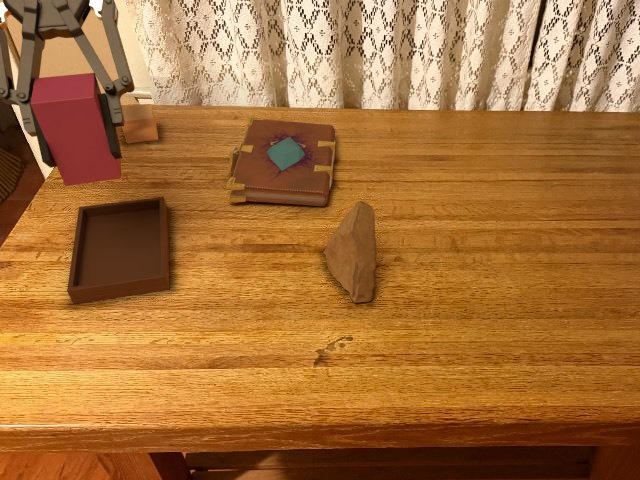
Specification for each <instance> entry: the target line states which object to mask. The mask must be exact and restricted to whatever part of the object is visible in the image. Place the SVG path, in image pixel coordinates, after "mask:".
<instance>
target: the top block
mask: <svg viewBox="0 0 640 480" xmlns="http://www.w3.org/2000/svg"><path fill="white" fill-rule="evenodd" d="M98 94H102V92H101V88H100V85H99V81H98V78H97V77H96V75H95V73H94V72H87V73H76V74H65V75H55V76H44V77H39V78H35V81H34V86H33V92H32V98H31V106H32V109H33V111H34V113H35V116H36V118H37V120H38V123H39V125H40V128H41V130H42V132H43V135H44V137H45V139H46V142H47V144H48V146H49V149H50V151H51V153H52V156H53V158H54V160H55V163H56V165H57V167H56V168H57V170H58V172H59V175H60V177H61V179H62V182H63V184H64V186H65V187H70V186H77V185H84V184H90V183H98V182H104V181H106V182H107V181H112V180H119V179H120V180H121V179H122V158H120V159H115V158H114V157H113V156H112V154H111V153H110V149H109V144H108V140H107V135H106V130H105V125H104V121H103V116H102V112H101V107H100V103H99V98H98Z"/></svg>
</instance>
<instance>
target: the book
mask: <svg viewBox="0 0 640 480" xmlns="http://www.w3.org/2000/svg"><path fill="white" fill-rule="evenodd" d="M246 127H247V129H246V132H245V136H244V138H243V141H240V142H239V145H235V146H234V147H233V149H232V151H229V162H228V166H227V171H226V172H228V173H232V176H231V177H230V178H229V179H228V180H227V181H226V182H227V183H226V186H225V188H226V189H228V190H230V192H229V193H228V196H227V201H228V202H231V203H246V202H258V203H273V204H285V205H286V204H287V205H299V206H301V205H302V206H313V207H314V206H315V207H324V206H325V205H327V203H328V201H329V196H330V195H329V194H330V190H331V187H333V172H334V162H335V160H336V139H335V138H336V129H335V127H334V126H333V124H323V123H311V122H301V121H289V120H279V119H269V118H268V119H266V118H263V117H262V116H261V117H260V116H256V115H251V116H247V118H246ZM235 151H236V152H235Z"/></svg>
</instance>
